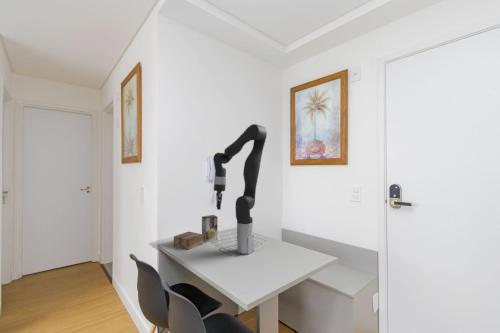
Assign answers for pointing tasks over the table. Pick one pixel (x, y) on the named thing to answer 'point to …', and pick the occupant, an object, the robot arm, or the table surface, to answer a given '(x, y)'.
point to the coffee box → (209, 228)
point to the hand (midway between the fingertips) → (218, 208)
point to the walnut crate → (188, 240)
